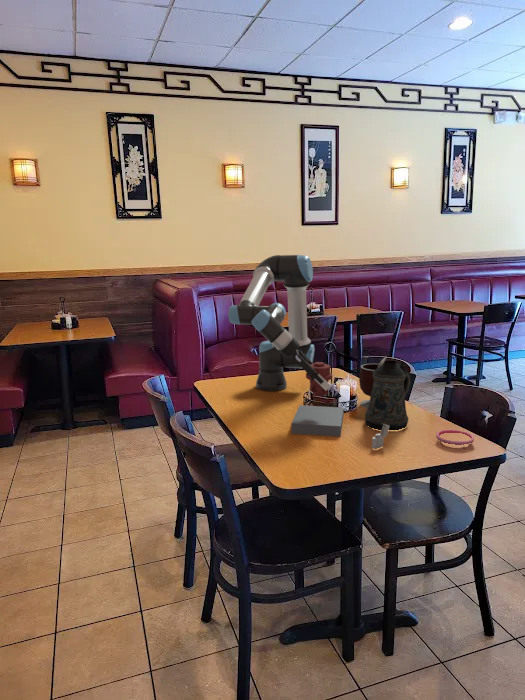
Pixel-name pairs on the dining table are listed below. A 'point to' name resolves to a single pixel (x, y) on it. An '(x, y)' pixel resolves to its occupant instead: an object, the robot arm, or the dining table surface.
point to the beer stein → (388, 397)
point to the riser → (318, 421)
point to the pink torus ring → (454, 441)
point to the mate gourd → (368, 379)
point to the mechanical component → (325, 373)
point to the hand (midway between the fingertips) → (327, 384)
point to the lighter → (380, 437)
